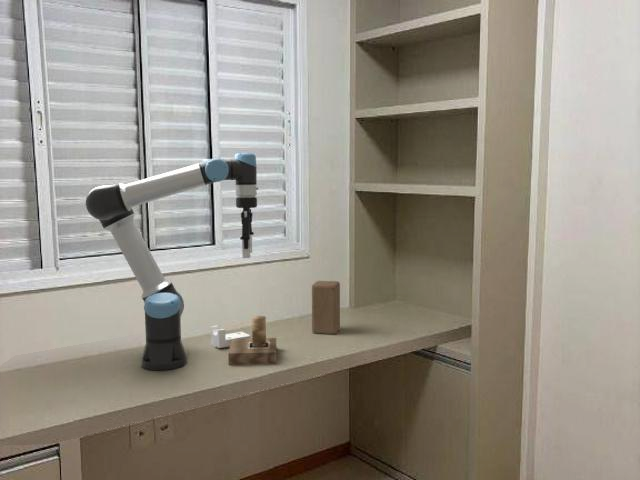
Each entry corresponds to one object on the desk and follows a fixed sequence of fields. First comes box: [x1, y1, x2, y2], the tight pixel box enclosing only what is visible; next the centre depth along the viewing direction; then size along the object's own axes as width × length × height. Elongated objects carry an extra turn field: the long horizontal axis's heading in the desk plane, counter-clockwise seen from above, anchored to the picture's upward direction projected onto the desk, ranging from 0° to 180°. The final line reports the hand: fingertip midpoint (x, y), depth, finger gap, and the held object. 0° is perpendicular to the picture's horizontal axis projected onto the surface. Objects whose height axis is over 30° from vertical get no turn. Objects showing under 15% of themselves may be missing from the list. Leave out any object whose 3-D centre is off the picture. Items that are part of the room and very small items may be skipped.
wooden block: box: [311, 280, 341, 335], centre depth 253 cm, size 10×10×20 cm
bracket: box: [210, 325, 252, 349], centre depth 235 cm, size 13×7×8 cm, turn 124°
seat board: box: [227, 337, 277, 366], centre depth 220 cm, size 16×18×4 cm
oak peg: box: [251, 315, 267, 348], centre depth 220 cm, size 5×5×14 cm
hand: (247, 255), depth 226 cm, fingers open, 13 cm apart
